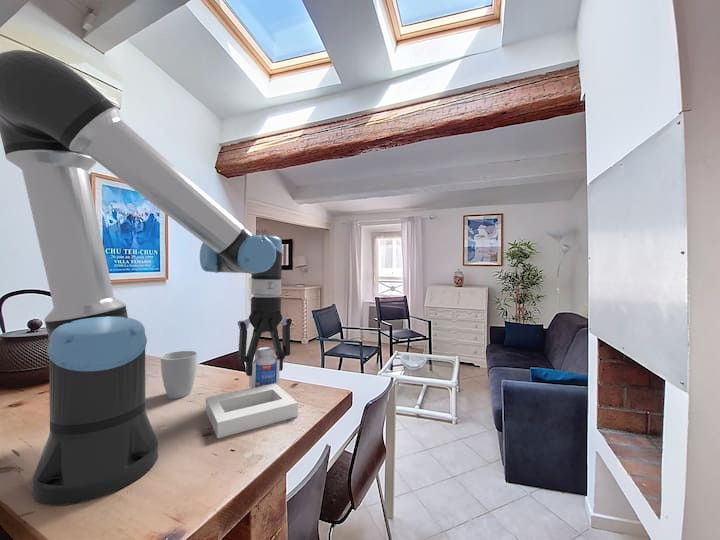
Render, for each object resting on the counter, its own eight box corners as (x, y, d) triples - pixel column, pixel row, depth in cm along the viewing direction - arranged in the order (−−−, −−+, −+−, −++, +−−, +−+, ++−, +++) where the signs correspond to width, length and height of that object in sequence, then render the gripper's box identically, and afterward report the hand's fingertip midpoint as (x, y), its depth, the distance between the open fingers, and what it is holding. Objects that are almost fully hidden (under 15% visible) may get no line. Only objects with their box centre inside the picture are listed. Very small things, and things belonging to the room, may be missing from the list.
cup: (203, 389, 84) (203, 351, 84) (184, 401, 76) (184, 359, 76) (175, 387, 85) (175, 350, 85) (152, 400, 77) (152, 358, 77)
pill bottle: (261, 392, 79) (262, 352, 79) (249, 387, 82) (249, 349, 82) (279, 386, 83) (280, 348, 83) (266, 381, 86) (267, 345, 87)
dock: (217, 438, 60) (217, 422, 60) (201, 401, 76) (201, 389, 76) (297, 416, 69) (297, 402, 69) (267, 387, 85) (267, 376, 85)
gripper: (232, 297, 75) (229, 397, 74) (305, 296, 85) (303, 383, 85) (225, 295, 81) (223, 387, 81) (294, 294, 91) (292, 375, 91)
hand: (264, 385), depth 83 cm, fingers closed on pill bottle, 5 cm apart
